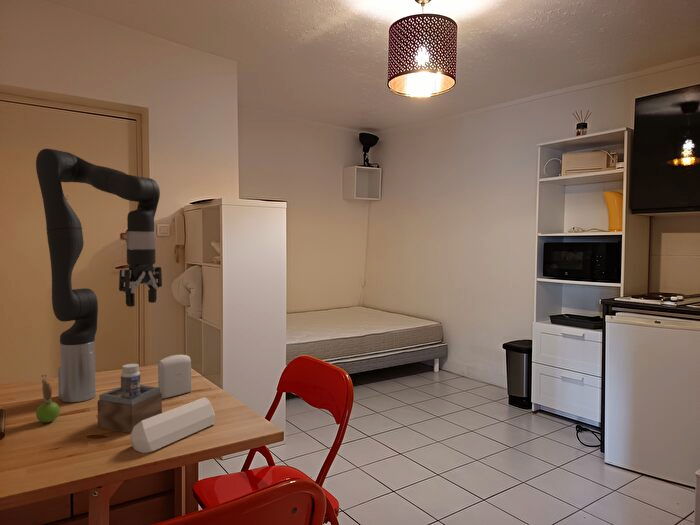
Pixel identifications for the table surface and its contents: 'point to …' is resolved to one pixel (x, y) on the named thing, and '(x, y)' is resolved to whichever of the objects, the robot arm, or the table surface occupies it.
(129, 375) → the pill bottle
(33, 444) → the table surface
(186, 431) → the crystal
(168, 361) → the photo printer
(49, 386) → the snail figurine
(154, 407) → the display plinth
